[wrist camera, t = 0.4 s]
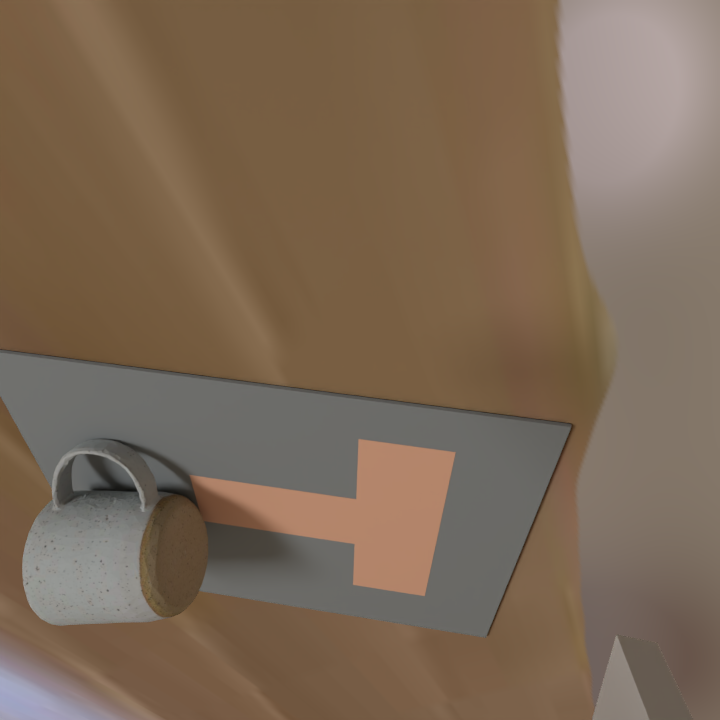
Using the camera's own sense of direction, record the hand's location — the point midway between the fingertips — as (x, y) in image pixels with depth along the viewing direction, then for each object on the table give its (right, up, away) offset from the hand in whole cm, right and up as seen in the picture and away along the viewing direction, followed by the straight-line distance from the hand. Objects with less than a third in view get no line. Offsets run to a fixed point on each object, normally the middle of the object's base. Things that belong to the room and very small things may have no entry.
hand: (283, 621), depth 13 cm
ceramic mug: (-12, -3, +26) cm, 29 cm away
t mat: (-4, -4, +26) cm, 26 cm away
